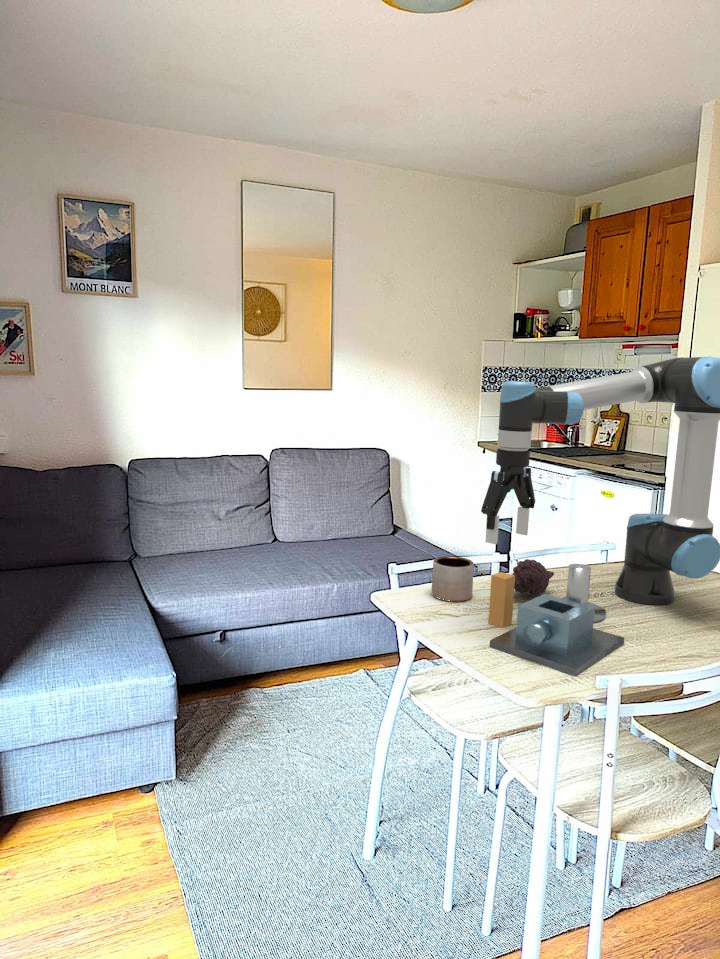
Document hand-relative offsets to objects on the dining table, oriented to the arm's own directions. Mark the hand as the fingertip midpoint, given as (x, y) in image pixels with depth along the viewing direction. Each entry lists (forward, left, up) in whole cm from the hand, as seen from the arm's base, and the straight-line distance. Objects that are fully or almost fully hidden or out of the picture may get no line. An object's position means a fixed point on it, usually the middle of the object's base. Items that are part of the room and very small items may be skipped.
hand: (506, 538), depth 160 cm
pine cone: (-24, -6, -21) cm, 33 cm away
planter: (-8, -20, -21) cm, 30 cm away
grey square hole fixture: (+1, +16, -21) cm, 26 cm away
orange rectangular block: (0, 0, -21) cm, 21 cm away
